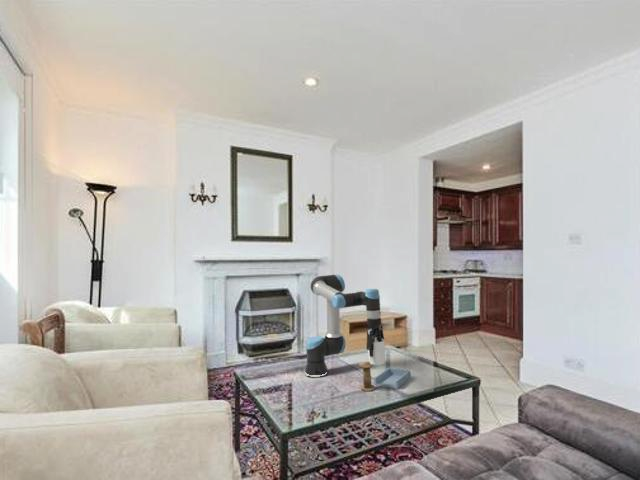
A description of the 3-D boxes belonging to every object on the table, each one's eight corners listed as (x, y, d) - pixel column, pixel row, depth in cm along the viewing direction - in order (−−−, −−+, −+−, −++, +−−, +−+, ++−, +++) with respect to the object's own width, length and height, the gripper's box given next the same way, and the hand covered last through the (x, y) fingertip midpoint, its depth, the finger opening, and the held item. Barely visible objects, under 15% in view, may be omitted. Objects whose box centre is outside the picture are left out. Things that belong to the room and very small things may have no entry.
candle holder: (386, 365, 180) (384, 342, 180) (367, 365, 182) (365, 342, 182) (386, 359, 189) (385, 337, 190) (368, 359, 191) (367, 338, 192)
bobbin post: (358, 389, 197) (356, 365, 197) (365, 385, 203) (363, 361, 204) (370, 392, 192) (369, 367, 193) (377, 387, 198) (375, 362, 199)
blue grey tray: (374, 384, 203) (374, 377, 203) (389, 374, 219) (388, 367, 219) (397, 389, 194) (397, 381, 194) (410, 377, 210) (410, 370, 211)
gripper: (370, 321, 176) (373, 366, 175) (389, 314, 193) (392, 355, 192) (357, 321, 180) (360, 364, 179) (377, 314, 198) (380, 353, 196)
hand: (377, 359), depth 185 cm, fingers closed on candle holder, 9 cm apart
